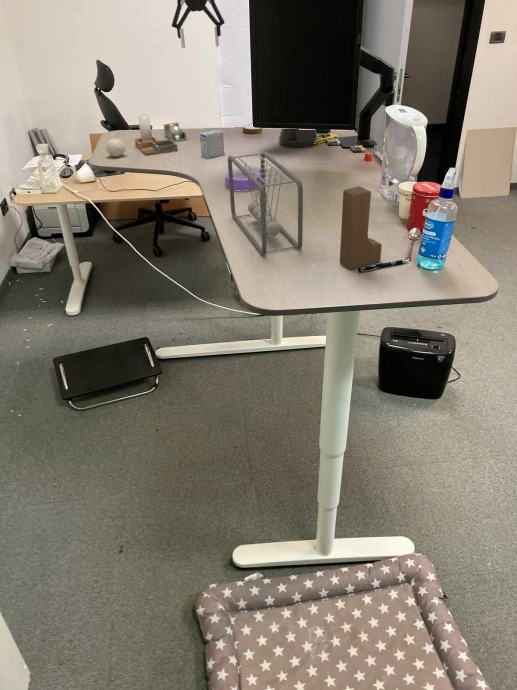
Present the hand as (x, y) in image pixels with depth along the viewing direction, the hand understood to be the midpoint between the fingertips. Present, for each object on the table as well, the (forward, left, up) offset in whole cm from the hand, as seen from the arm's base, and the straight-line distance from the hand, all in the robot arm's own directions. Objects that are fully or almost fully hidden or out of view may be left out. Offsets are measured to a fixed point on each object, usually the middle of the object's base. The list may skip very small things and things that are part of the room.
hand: (200, 47), depth 213 cm
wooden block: (-132, +8, -34) cm, 136 cm away
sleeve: (0, +26, -33) cm, 42 cm away
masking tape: (-66, +11, -34) cm, 75 cm away
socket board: (-5, +24, -34) cm, 42 cm away
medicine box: (-28, +8, -34) cm, 45 cm away
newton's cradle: (-104, +20, -34) cm, 112 cm away
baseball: (-9, +41, -34) cm, 54 cm away
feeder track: (+6, +13, -34) cm, 37 cm away
